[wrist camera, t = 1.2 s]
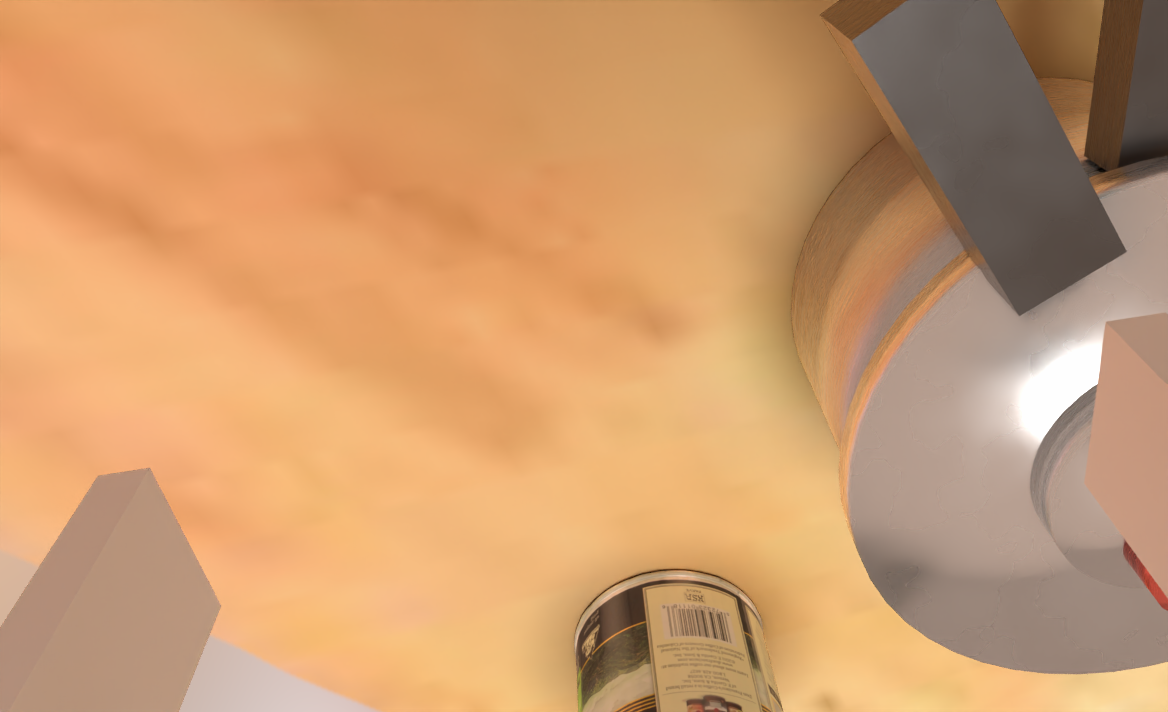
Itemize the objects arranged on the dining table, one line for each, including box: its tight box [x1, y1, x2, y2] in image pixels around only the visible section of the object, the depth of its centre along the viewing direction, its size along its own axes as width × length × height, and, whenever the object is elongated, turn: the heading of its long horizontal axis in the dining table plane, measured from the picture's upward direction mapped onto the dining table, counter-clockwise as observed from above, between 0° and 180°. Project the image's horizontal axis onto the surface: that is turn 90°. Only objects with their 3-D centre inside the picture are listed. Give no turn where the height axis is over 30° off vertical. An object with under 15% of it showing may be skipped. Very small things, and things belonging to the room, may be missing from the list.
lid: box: [820, 0, 1168, 674], centre depth 28 cm, size 28×20×5 cm
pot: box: [791, 0, 1168, 450], centre depth 36 cm, size 28×18×11 cm, turn 8°
